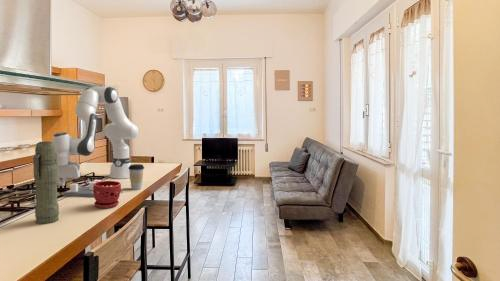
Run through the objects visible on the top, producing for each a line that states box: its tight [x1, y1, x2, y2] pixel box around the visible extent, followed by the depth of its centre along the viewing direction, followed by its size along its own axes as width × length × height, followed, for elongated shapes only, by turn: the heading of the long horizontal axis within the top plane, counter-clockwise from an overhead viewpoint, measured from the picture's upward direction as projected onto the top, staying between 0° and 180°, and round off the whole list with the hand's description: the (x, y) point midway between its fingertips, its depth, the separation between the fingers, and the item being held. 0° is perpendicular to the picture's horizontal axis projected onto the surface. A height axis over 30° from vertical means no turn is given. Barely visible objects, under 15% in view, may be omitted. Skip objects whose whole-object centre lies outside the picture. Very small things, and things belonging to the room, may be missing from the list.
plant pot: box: [93, 180, 122, 209], centre depth 172 cm, size 13×13×12 cm
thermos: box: [32, 141, 60, 225], centre depth 146 cm, size 9×12×35 cm
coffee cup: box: [128, 163, 145, 191], centre depth 209 cm, size 9×9×15 cm
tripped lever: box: [69, 183, 79, 192], centre depth 190 cm, size 3×3×4 cm
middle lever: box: [88, 181, 96, 190], centre depth 196 cm, size 3×3×4 cm
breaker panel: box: [62, 185, 99, 198], centre depth 196 cm, size 16×18×2 cm
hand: (61, 185), depth 190 cm, fingers closed
